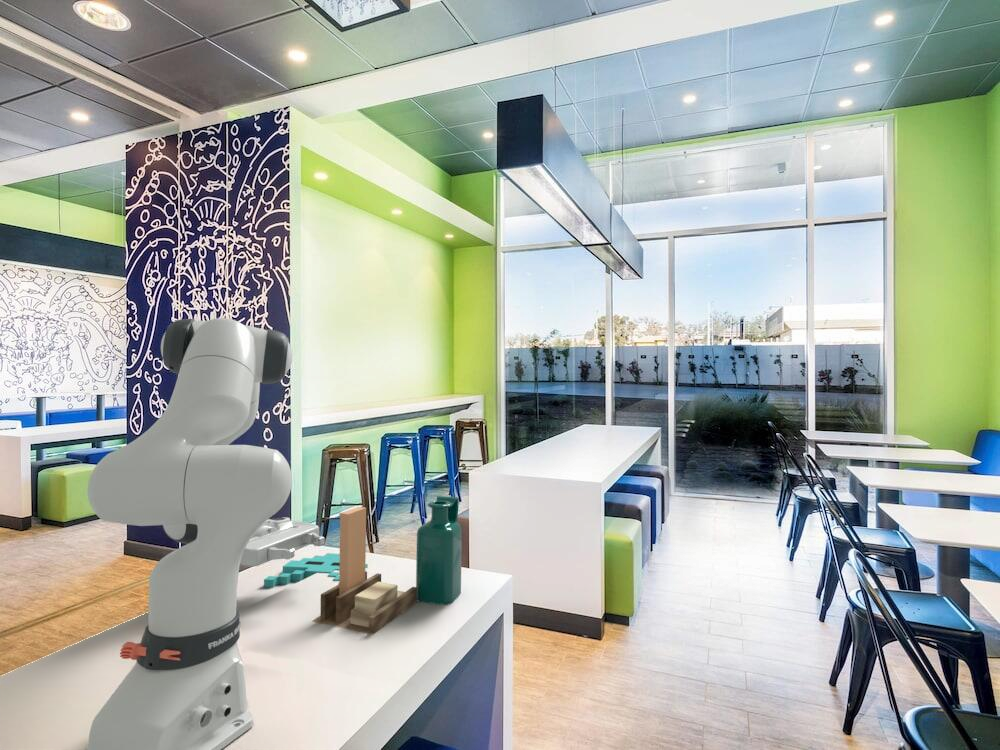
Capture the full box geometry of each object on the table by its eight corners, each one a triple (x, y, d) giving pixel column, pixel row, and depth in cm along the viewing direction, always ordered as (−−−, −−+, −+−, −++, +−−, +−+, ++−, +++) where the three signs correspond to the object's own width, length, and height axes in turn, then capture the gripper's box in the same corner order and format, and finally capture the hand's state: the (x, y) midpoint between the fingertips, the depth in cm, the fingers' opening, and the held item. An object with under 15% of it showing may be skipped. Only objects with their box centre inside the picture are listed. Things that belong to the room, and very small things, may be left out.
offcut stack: (372, 628, 105) (372, 601, 105) (350, 623, 107) (350, 597, 107) (405, 604, 116) (405, 580, 116) (385, 600, 118) (385, 576, 118)
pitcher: (450, 612, 116) (451, 507, 116) (412, 607, 118) (414, 504, 118) (465, 594, 126) (466, 497, 126) (430, 590, 128) (431, 494, 128)
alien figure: (347, 593, 127) (376, 563, 146) (348, 583, 127) (376, 555, 146) (263, 589, 129) (302, 560, 148) (264, 579, 129) (303, 552, 148)
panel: (347, 614, 111) (348, 514, 111) (338, 613, 112) (340, 513, 112) (364, 603, 117) (366, 507, 117) (356, 601, 117) (358, 506, 117)
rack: (373, 642, 103) (373, 607, 103) (311, 628, 108) (312, 595, 108) (416, 608, 118) (417, 577, 118) (360, 598, 123) (361, 568, 123)
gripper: (218, 538, 114) (271, 546, 108) (290, 515, 133) (338, 521, 128) (218, 569, 113) (271, 579, 108) (289, 541, 133) (337, 549, 128)
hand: (307, 547), depth 118 cm, fingers open, 8 cm apart
